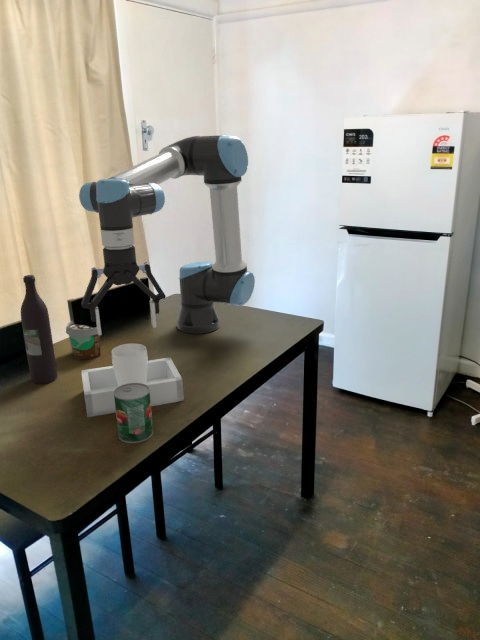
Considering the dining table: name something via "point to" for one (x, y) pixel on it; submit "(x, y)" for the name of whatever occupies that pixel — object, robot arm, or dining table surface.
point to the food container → (84, 341)
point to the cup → (130, 363)
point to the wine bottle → (37, 335)
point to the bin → (159, 380)
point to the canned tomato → (133, 412)
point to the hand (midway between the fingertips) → (127, 329)
